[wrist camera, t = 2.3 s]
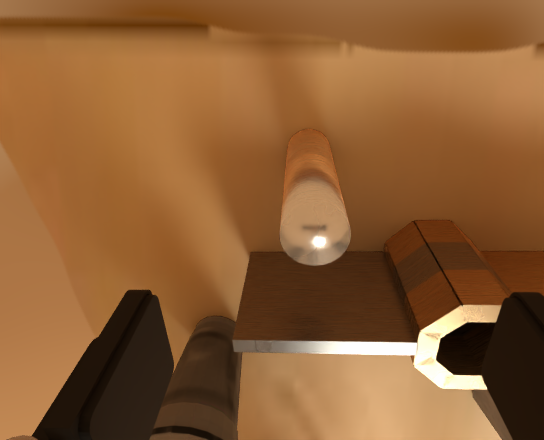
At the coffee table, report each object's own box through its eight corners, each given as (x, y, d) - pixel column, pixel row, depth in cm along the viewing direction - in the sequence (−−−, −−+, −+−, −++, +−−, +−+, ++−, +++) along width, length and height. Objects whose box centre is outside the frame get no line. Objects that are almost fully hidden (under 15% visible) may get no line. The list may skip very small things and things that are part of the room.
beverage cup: (198, 292, 33) (82, 601, 15) (271, 324, 34) (241, 646, 17) (169, 343, 36) (46, 648, 19) (236, 371, 37) (181, 682, 20)
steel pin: (311, 178, 27) (318, 276, 17) (278, 153, 27) (265, 240, 16) (338, 146, 26) (366, 232, 16) (305, 120, 25) (310, 190, 15)
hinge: (630, 218, 27) (779, 307, 19) (597, 290, 30) (713, 395, 22) (248, 222, 29) (227, 303, 21) (253, 289, 32) (237, 383, 24)
